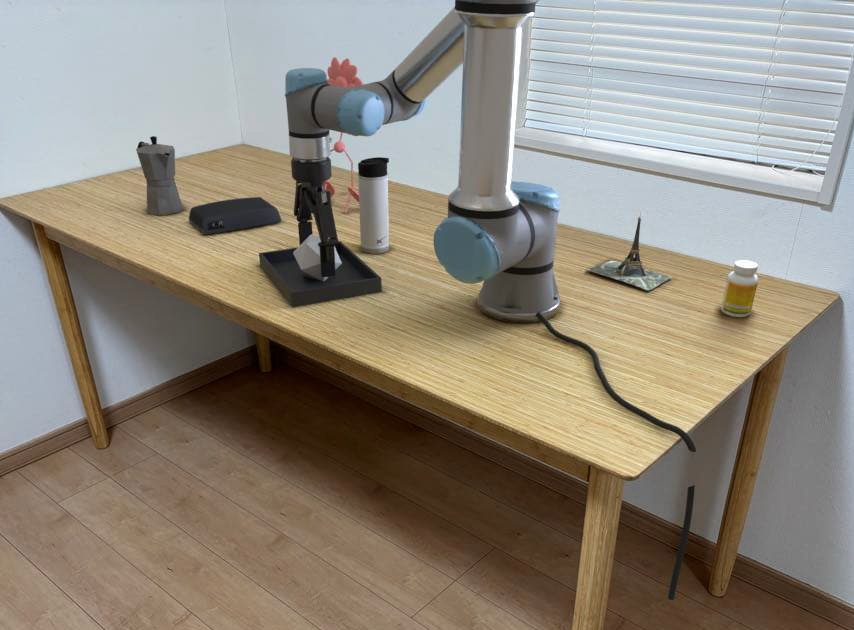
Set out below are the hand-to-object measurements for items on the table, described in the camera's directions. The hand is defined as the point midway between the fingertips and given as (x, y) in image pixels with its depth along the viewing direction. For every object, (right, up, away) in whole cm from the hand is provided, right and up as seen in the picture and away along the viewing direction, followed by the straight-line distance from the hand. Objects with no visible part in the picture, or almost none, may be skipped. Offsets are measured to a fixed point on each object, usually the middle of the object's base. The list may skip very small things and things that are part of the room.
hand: (317, 264), depth 161 cm
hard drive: (-24, +15, +31) cm, 43 cm away
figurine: (+3, +24, +45) cm, 51 cm away
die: (0, -2, +1) cm, 3 cm away
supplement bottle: (+80, -11, -11) cm, 82 cm away
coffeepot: (-45, +21, +40) cm, 64 cm away
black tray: (0, -3, +1) cm, 3 cm away
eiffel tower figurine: (+64, -2, +4) cm, 64 cm away
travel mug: (+11, +6, +16) cm, 21 cm away
